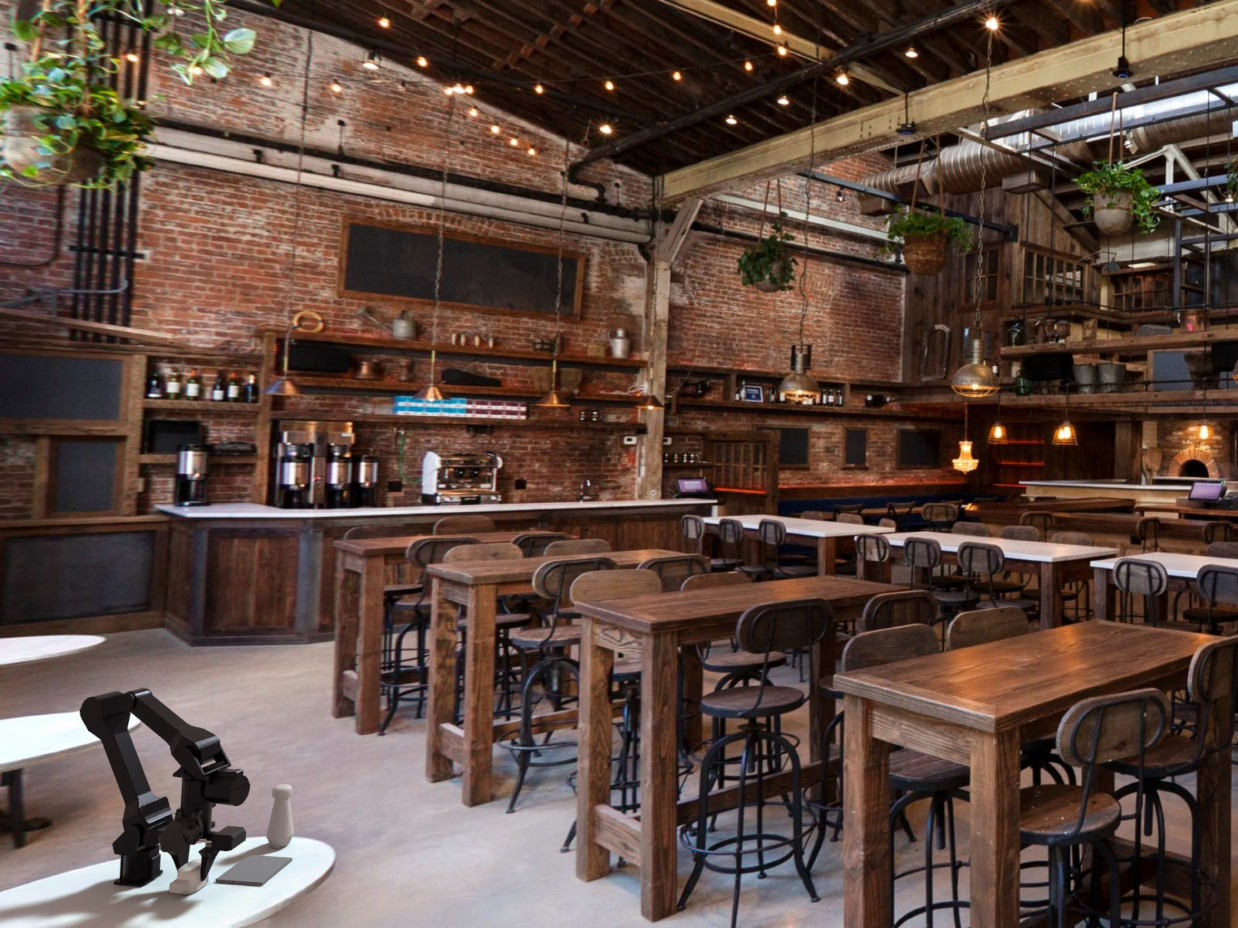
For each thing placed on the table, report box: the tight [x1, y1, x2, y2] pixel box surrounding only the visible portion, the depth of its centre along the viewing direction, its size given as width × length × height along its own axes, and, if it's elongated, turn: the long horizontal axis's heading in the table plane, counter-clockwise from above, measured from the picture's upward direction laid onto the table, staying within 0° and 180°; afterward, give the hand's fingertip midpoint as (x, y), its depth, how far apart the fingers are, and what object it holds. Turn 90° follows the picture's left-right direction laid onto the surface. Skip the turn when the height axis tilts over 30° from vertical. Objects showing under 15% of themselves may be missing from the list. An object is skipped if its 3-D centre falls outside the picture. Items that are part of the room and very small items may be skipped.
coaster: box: [215, 854, 293, 886], centre depth 171 cm, size 10×12×1 cm
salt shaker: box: [265, 783, 295, 849], centre depth 185 cm, size 6×6×13 cm
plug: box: [168, 858, 210, 895], centre depth 163 cm, size 9×4×4 cm, turn 174°
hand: (192, 879), depth 163 cm, fingers closed on plug, 4 cm apart
